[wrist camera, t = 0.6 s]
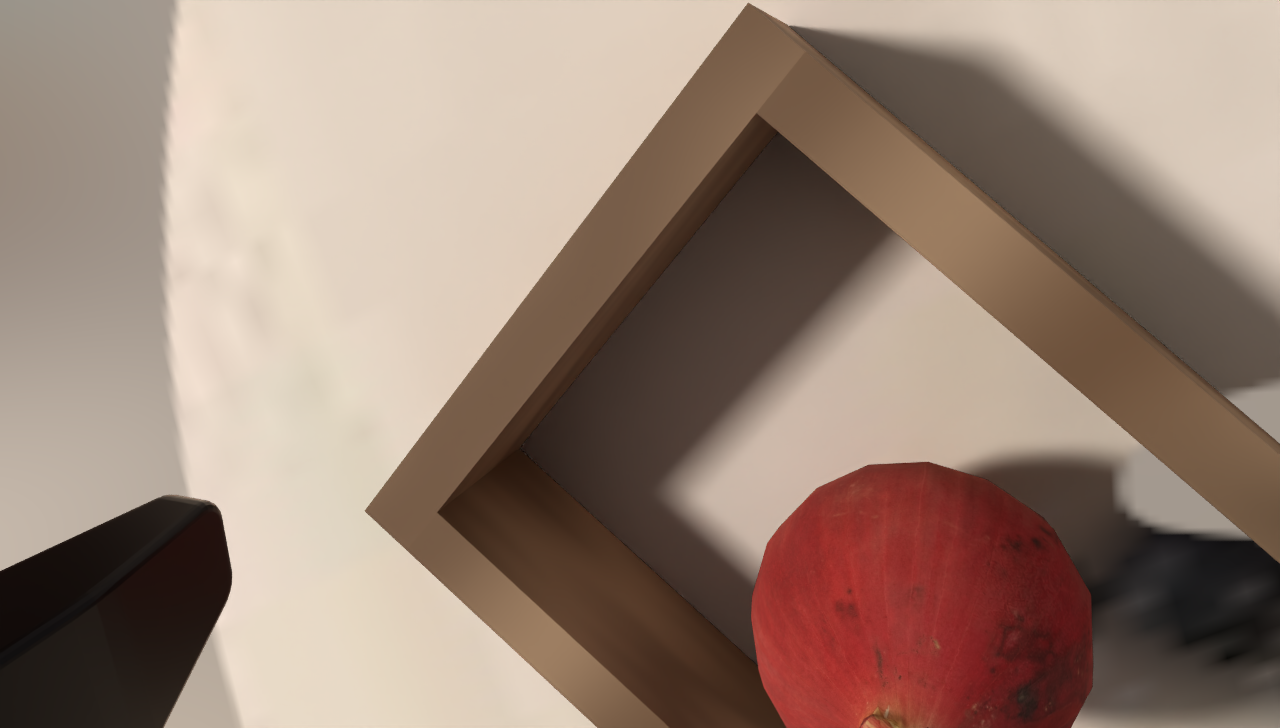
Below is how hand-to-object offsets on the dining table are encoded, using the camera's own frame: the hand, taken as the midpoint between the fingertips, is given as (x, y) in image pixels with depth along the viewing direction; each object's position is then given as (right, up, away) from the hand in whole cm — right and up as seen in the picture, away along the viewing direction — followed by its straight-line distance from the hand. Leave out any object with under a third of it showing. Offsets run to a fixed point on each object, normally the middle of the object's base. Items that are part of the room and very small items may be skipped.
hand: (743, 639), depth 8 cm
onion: (+5, -2, +13) cm, 14 cm away
